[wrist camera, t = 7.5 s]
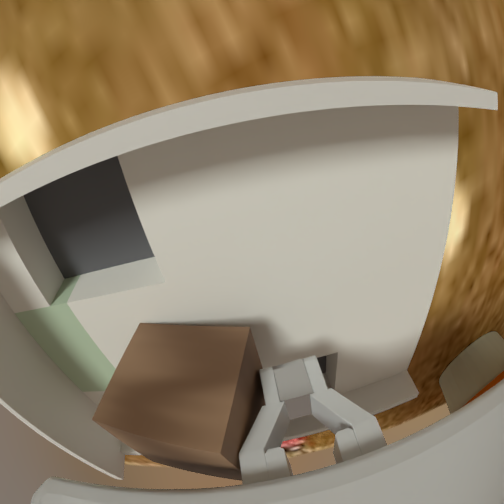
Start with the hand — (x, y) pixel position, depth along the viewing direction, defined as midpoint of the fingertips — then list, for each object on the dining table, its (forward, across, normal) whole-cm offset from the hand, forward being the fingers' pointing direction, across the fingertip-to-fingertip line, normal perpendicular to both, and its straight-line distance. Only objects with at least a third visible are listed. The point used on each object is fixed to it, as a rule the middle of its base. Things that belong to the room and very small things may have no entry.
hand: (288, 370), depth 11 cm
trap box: (+4, +2, -1) cm, 5 cm away
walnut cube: (+1, +3, 0) cm, 3 cm away
